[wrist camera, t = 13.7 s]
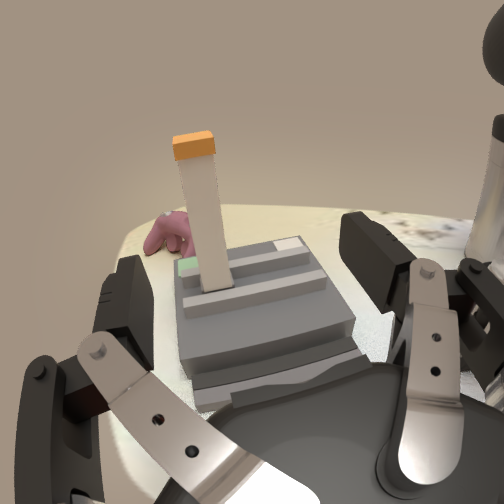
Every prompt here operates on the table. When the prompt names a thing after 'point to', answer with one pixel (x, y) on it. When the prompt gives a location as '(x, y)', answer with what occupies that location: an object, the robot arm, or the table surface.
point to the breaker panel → (257, 308)
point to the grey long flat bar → (269, 373)
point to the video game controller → (171, 234)
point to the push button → (500, 269)
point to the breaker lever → (204, 208)
